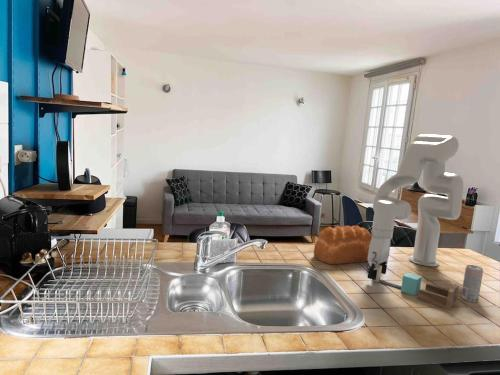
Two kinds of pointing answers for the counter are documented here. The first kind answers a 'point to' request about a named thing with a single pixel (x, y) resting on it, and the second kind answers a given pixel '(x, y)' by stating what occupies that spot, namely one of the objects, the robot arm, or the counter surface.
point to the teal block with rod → (403, 282)
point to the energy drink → (472, 283)
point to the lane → (439, 295)
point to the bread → (343, 245)
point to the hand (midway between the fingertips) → (376, 275)
